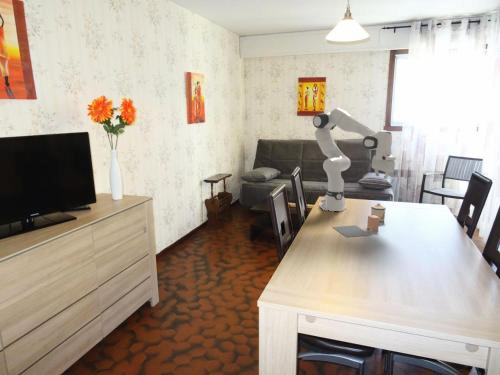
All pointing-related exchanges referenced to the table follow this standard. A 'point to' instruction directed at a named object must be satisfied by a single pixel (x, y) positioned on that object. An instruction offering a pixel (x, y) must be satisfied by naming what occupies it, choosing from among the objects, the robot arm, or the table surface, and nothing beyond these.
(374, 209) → the teacup with lid
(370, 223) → the terracotta block
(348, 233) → the charcoal mat
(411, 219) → the table surface
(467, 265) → the table surface
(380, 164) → the robot arm
